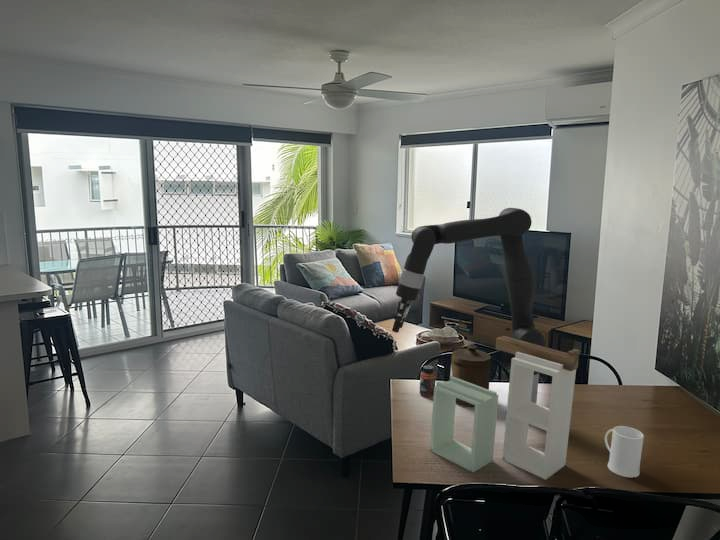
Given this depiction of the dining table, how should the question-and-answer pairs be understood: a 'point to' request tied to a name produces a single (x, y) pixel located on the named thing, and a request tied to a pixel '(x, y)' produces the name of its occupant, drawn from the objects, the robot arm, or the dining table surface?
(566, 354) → the hook bar
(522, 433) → the shelf stand
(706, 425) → the dining table surface
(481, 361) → the wooden container
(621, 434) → the mug
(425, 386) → the supplement bottle
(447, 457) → the rest stand
